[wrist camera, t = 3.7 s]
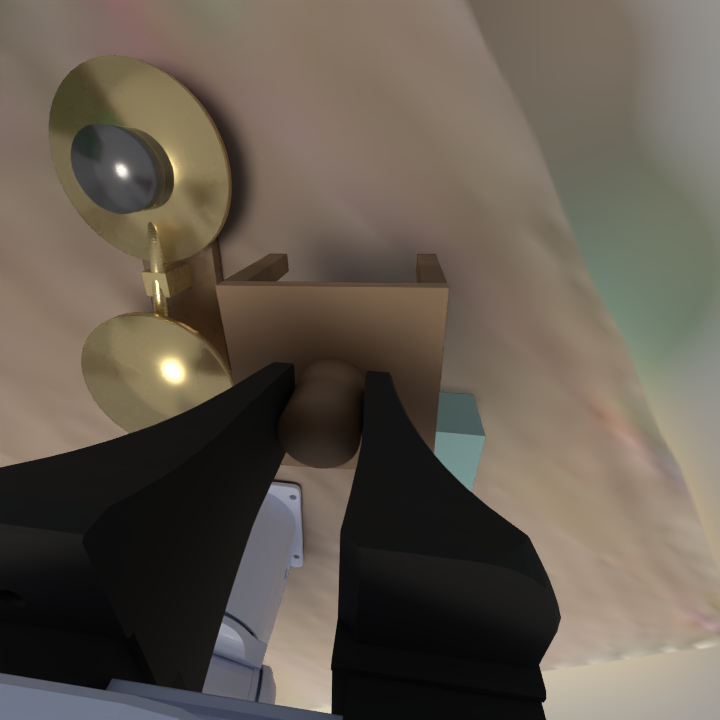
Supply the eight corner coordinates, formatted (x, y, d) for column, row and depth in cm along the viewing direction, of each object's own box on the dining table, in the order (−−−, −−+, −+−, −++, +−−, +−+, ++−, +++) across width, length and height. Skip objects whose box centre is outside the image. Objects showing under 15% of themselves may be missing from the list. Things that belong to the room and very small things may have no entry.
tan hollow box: (425, 398, 17) (437, 533, 11) (287, 393, 18) (220, 516, 11) (435, 254, 14) (461, 317, 8) (270, 253, 15) (167, 312, 9)
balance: (268, 408, 25) (241, 456, 21) (154, 396, 25) (106, 441, 21) (238, 72, 16) (183, 41, 12) (69, 67, 17) (-39, 36, 13)
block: (461, 444, 25) (471, 491, 21) (401, 438, 25) (401, 483, 21) (472, 394, 23) (485, 436, 19) (407, 388, 23) (408, 428, 20)
